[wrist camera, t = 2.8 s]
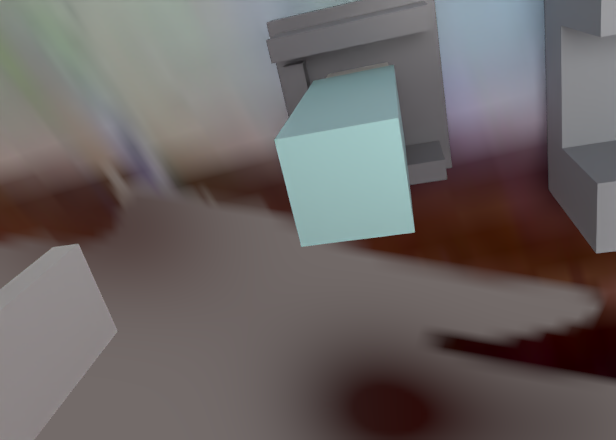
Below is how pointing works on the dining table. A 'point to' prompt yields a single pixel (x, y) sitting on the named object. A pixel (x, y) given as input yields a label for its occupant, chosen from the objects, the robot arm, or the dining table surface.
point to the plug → (347, 158)
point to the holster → (370, 51)
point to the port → (583, 114)
